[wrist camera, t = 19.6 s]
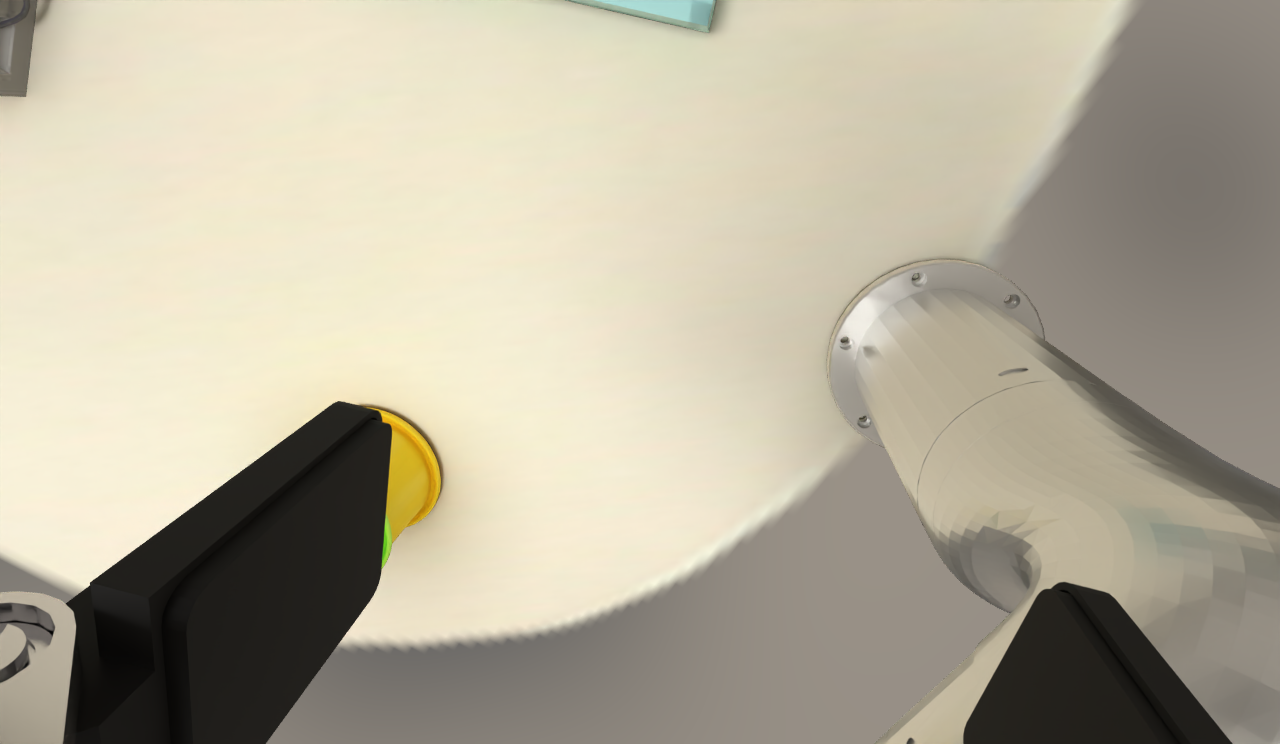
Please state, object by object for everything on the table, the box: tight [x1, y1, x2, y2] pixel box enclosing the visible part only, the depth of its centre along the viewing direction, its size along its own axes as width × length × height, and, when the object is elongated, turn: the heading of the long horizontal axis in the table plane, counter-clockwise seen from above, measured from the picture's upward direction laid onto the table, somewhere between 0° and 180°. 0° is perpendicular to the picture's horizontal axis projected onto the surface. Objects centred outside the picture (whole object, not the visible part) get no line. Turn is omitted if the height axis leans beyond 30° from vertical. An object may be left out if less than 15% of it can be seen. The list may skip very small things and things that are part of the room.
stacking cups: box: [366, 407, 441, 568], centre depth 34 cm, size 10×10×35 cm
